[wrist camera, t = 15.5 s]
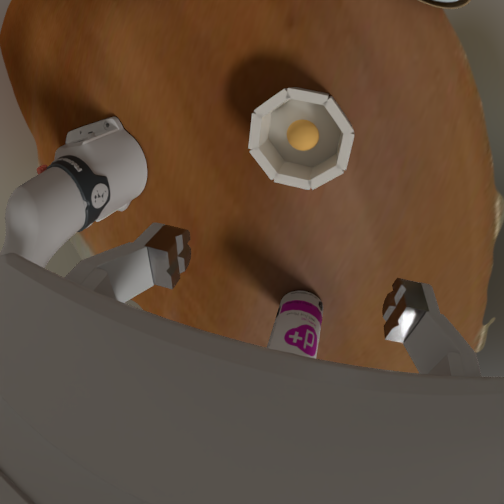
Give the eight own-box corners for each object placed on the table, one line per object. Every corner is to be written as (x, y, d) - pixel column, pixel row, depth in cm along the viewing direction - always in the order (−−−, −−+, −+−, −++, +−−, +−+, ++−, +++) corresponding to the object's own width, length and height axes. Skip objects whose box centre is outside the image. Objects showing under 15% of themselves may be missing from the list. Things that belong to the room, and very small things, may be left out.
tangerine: (287, 143, 34) (281, 150, 31) (291, 114, 32) (286, 118, 29) (316, 149, 33) (314, 157, 30) (322, 121, 31) (321, 125, 28)
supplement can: (298, 280, 48) (280, 349, 37) (332, 304, 49) (323, 373, 38) (273, 303, 53) (252, 367, 42) (305, 323, 54) (291, 387, 43)
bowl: (258, 161, 38) (245, 176, 33) (267, 83, 31) (255, 83, 26) (338, 180, 36) (338, 197, 31) (356, 100, 29) (361, 104, 24)
